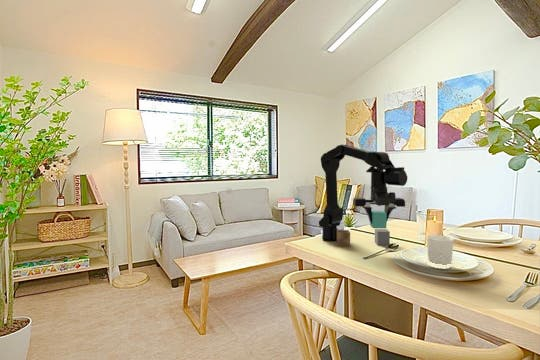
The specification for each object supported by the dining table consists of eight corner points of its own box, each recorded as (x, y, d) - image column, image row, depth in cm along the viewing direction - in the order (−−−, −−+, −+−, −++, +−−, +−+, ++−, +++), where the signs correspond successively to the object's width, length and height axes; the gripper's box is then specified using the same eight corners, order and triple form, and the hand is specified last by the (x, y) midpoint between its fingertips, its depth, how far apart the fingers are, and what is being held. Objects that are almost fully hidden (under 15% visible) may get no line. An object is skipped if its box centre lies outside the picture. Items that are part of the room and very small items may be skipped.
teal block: (373, 228, 121) (373, 212, 120) (370, 225, 126) (370, 210, 125) (386, 228, 120) (386, 213, 120) (382, 225, 125) (383, 210, 125)
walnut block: (338, 246, 132) (338, 232, 132) (336, 243, 137) (336, 230, 137) (350, 246, 132) (350, 232, 132) (348, 243, 137) (348, 230, 136)
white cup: (443, 272, 102) (444, 242, 101) (421, 265, 109) (422, 236, 108) (457, 268, 105) (458, 238, 105) (436, 261, 112) (436, 234, 112)
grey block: (377, 245, 134) (377, 231, 133) (374, 242, 139) (374, 229, 138) (389, 245, 133) (389, 231, 133) (386, 242, 138) (386, 229, 138)
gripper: (358, 186, 115) (357, 228, 116) (410, 186, 113) (409, 228, 114) (352, 183, 126) (352, 222, 127) (400, 183, 124) (400, 222, 125)
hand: (378, 223), depth 123 cm, fingers closed on teal block, 5 cm apart
